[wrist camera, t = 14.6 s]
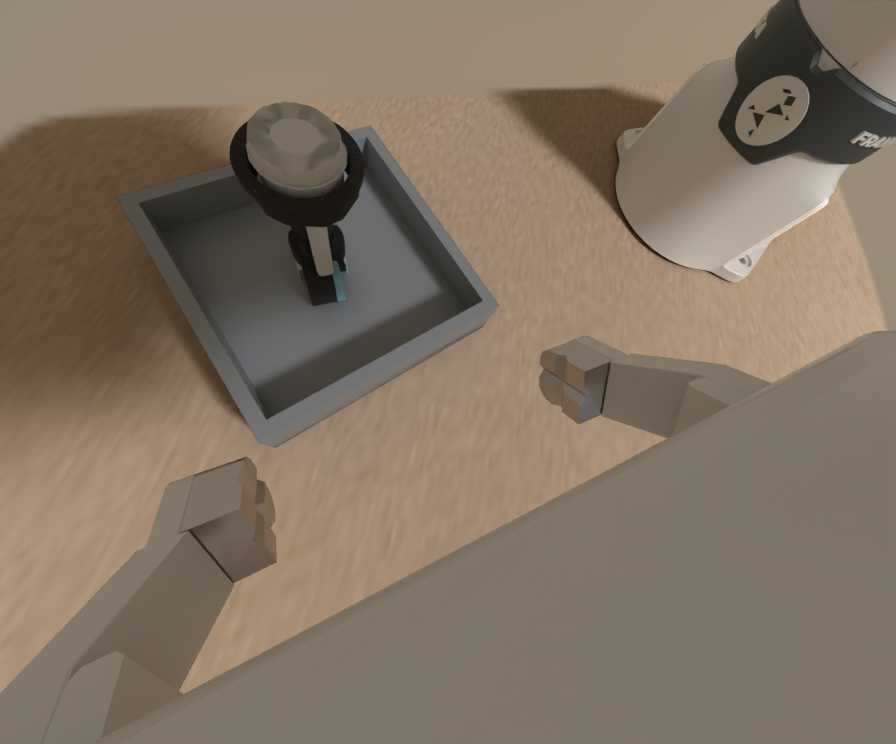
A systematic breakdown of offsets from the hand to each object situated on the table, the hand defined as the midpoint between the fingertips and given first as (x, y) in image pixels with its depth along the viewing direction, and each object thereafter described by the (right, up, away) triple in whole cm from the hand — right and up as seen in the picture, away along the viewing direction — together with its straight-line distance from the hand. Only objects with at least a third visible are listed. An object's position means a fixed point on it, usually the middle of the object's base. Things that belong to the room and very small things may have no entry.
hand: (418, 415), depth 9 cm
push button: (-8, +8, +14) cm, 18 cm away
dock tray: (-8, +7, +15) cm, 18 cm away
